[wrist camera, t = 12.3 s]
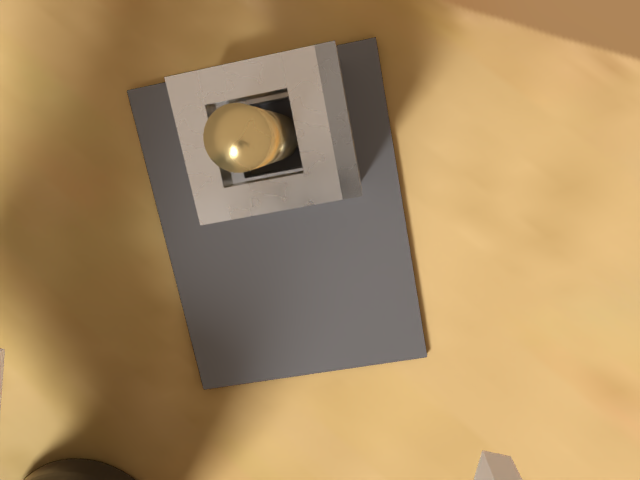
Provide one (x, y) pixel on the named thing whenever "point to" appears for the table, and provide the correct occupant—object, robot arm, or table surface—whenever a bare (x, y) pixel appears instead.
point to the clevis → (309, 120)
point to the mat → (292, 253)
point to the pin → (248, 137)
